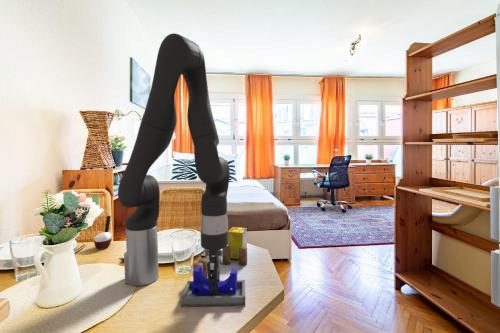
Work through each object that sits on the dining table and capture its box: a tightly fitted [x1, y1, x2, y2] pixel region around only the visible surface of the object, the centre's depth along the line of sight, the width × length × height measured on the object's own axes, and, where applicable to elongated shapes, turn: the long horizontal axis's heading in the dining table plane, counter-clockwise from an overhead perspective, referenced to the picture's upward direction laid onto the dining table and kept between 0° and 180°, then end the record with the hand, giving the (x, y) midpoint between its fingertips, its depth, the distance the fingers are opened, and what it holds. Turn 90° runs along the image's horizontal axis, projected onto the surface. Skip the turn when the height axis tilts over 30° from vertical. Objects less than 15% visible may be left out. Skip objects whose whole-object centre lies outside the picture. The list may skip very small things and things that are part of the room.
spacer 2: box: [197, 257, 208, 278], centre depth 88 cm, size 3×3×6 cm
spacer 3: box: [204, 249, 208, 262], centre depth 97 cm, size 3×3×6 cm
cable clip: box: [192, 266, 238, 296], centre depth 77 cm, size 12×4×6 cm, turn 83°
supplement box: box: [227, 226, 248, 262], centre depth 103 cm, size 6×6×11 cm
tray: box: [180, 279, 246, 308], centre depth 77 cm, size 17×9×2 cm, turn 92°
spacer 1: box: [192, 261, 203, 271], centre depth 85 cm, size 3×3×6 cm
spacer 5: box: [238, 246, 248, 267], centre depth 98 cm, size 3×3×6 cm
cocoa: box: [93, 215, 112, 250], centre depth 113 cm, size 10×6×12 cm, turn 152°
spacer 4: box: [221, 245, 232, 266], centre depth 98 cm, size 3×3×6 cm
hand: (214, 287), depth 77 cm, fingers open, 5 cm apart
